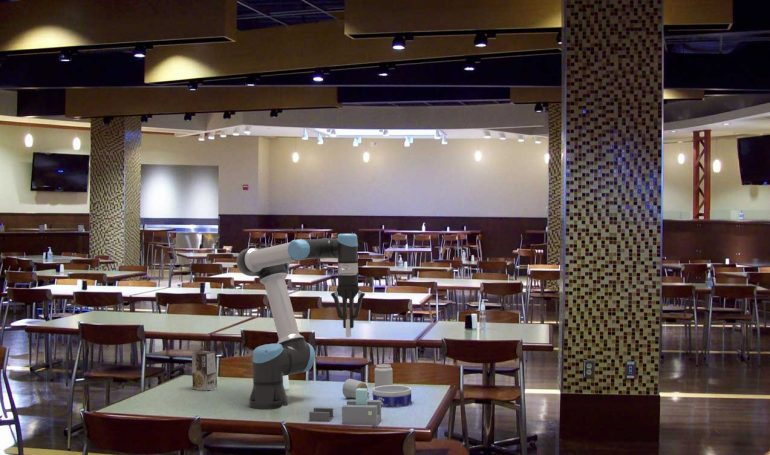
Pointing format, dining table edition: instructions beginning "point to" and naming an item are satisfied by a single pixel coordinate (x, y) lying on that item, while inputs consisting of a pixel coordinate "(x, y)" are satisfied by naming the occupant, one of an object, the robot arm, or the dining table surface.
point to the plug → (361, 396)
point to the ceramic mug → (352, 388)
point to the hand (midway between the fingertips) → (348, 336)
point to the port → (362, 413)
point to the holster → (321, 415)
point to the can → (383, 375)
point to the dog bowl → (392, 395)
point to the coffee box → (204, 370)
